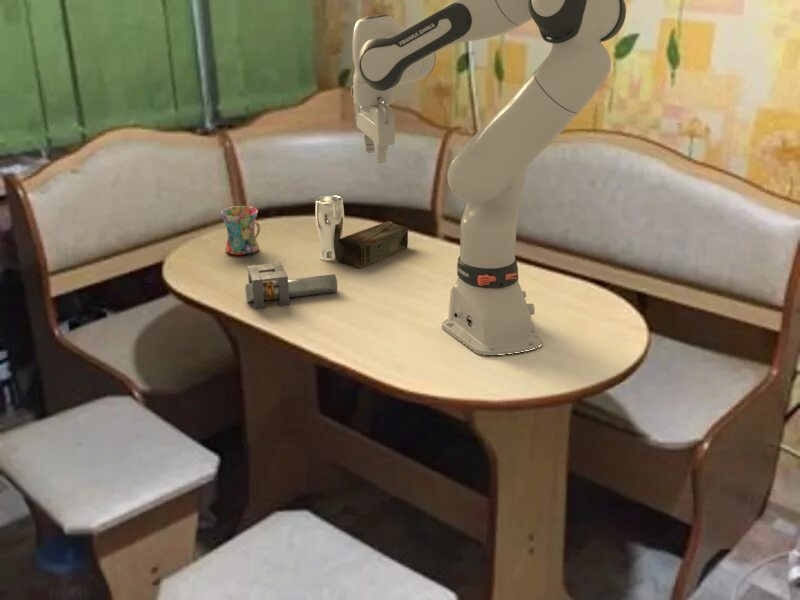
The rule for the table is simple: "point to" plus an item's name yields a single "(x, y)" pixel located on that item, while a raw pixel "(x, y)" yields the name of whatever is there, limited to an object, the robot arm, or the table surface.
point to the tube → (296, 287)
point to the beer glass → (329, 225)
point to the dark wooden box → (372, 244)
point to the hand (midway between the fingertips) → (375, 157)
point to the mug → (241, 229)
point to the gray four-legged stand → (275, 275)
